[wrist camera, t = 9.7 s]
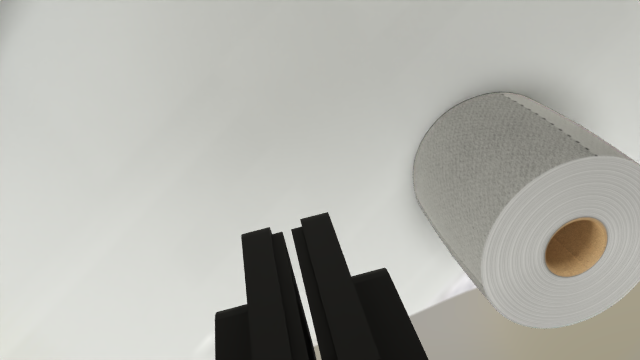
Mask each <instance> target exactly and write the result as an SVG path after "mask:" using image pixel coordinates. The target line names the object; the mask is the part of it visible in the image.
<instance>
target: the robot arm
mask: <svg viewBox="0 0 640 360" xmlns="http://www.w3.org/2000/svg"><path fill="white" fill-rule="evenodd" d="M300 220H301V224H302V227H299V228H295V229H291V231H292V235H293V239H294V243H295V248H296V252H297V256H298V261H299V265H300V269H301V273H302V278H303V282H304V286H305V290H306V295H307V299H308V303H309V307H310V312H311V316H312V320H313V325H314V329H315V333H316V337H317V342H318V346H319V350H320V354H321V359H322V360H428V358H427V356H426V353H425V351H424V349H423V347H422V345H421V342H420V340H419V338H418V336H417V334H416V331H415V330H414V327H413V325H412V323H411V321H410V318H409V316H408V314H407V312H406V310H405V308H404V305H403V303H402V301H401V299H400V297H399V294H398V292H397V290H396V288H395V286H394V284H393V281H392V279H391V277H390V275H389V273H388V271H387V269H386V268H382V269H378V270H374V271H371V272H367V273H363V274H359V275H356V276H352V277H351V275H350V272H349V269H348V267H347V264H346V261H345V258H344V255H343V253H342V250H341V247H340V244H339V242H338V239H337V236H336V233H335V230H334V228H333V225H332V222H331V219H330V216H329V214H328V212H327V213H323V214H319V215H315V216H311V217H307V218H303V219H300ZM242 249H243V260H244V271H245V282H246V294H247V304H246V305H242V306H238V307H235V308H231V309H227V310H223V311H219V312H217V313H216V315H215V360H316V356H315V351H314V347H313V343H312V339H311V336H310V332H309V328H308V324H307V321H306V317H305V313H304V310H303V306H302V302H301V299H300V295H299V291H298V287H297V284H296V280H295V276H294V273H293V269H292V265H291V261H290V258H289V254H288V250H287V247H286V243H285V239H284V236H283V232H280V233H276V234H272V233H271V230H270V227H269V228H265V229H261V230H257V231H253V232H249V233H245V234H242Z"/></svg>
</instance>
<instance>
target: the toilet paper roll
mask: <svg viewBox="0 0 640 360" xmlns="http://www.w3.org/2000/svg"><path fill="white" fill-rule="evenodd" d="M413 184H414V190H415V194H416V198H417V200H418V203H419V205H420V207H421V209H422V210H423V212H424V214H425V215H426V217H427V218H428V220H429V222H430V223H431V225H432V226H433V228H434V229H435V231H436V232H437V234H438V235H439V237H440V238H441V240H442V241H443V243H444V244H445V246H446V247H447V249H448V250H449V252H450V253H451V255H452V256H453V257H454V259H455V260H456V261H457V262H458V264H459V265H460V266H461V268H462V269H463V270H464V271H465V273H466V274H467V275H468V277H469V278H470V279H471V280H472V282H473V283H474V284H475V285H476V286H477V288H478V289H479V290H480V291H481V292H482V294H483V295H484V296H485V297H486V298H487V300H488V301H489V302H490V303H491V304H492V306H493V307H494V308H495V309H496V310H497V311H498V312H499V313H500V314H501V315H502V316H504V317H506V318H507V319H509V320H511V321H512V322H514V323H517V324H520V325H523V326H527V327H532V328H558V327H564V326H568V325H572V324H576V323H579V322H582V321H584V320H587V319H589V318H591V317H594V316H596V315H598V314H599V313H601V312H603V311H605V310H606V309H608V308H609V307H611V306H612V305H614V304H615V303H617V302H618V301H619V300H620V299H621V298H623V297H624V296H625V295H626V294H627V293H628V292H629V291H631V290H632V289H633V288H634V286H635V285H636V284H637V283H638V282H639V281H640V165H639V164H638V163H636V162H635V161H634V160H632V159H631V158H629V157H628V156H626V155H625V154H624V153H622V152H621V151H619V150H618V149H616V148H615V147H613V146H612V145H611V144H609V143H607V142H606V141H604V140H603V139H601V138H600V137H598V136H597V135H595V134H594V133H592V132H590V131H589V130H587V129H586V128H584V127H583V126H581V125H579V124H577V123H575V122H574V121H572V120H570V119H568V118H566V117H565V116H563V115H561V114H559V113H557V112H556V111H554V110H552V109H550V108H548V107H546V106H544V105H542V104H540V103H538V102H536V101H534V100H532V99H530V98H528V97H525V96H523V95H519V94H514V93H505V92H499V93H490V94H485V95H481V96H477V97H474V98H471V99H469V100H466V101H464V102H462V103H460V104H458V105H456V106H455V107H453V108H452V109H450V110H449V111H448V112H446V113H445V114H444V115H442V116H441V117H440V118H439V119H438V120H437V121H436V122H435V123H434V125H433V126H432V127H431V128H430V130H429V131H428V132H427V134H426V135H425V137H424V139H423V140H422V142H421V144H420V146H419V149H418V151H417V154H416V158H415V162H414V168H413Z"/></svg>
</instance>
